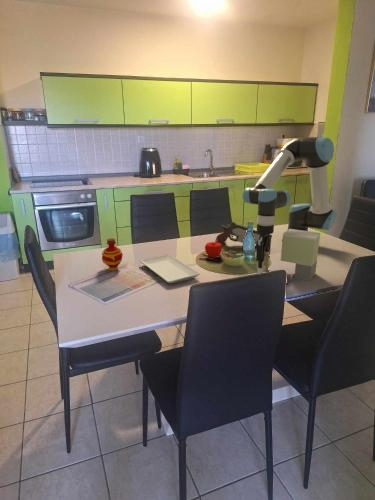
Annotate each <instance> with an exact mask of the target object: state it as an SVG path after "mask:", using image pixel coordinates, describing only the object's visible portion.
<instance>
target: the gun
mask: <svg viewBox="0 0 375 500" xmlns="http://www.w3.org/2000/svg"><path fill="white" fill-rule="evenodd" d="M220 228H221V229H223V232H220V233H219V234H217V235H216V238H215V241H214V242H217V243H220V244H221V245H222V246H226V243H227V240H228V239H229V240H230V241H232V242H236V243H237V242H239V243H240V244H241V243H242V244H244V243H243V239H244V236H245V234H246V230H247V228H248V227H246V226H243V225H241V224H237V223H236V222H235V221H232V222H231V223H230V224H229V223H228V224H227V226H226V225H223V224H222V225H221V226H220ZM252 230H253V234H254V237H255V244H256V246H255V247H254V248H257V241H259V237H260V234H259V233H258V232H257V230H255V229H252ZM234 237H236V238H234Z"/></svg>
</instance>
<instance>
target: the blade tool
mask: <svg viewBox="0 0 375 500" xmlns="http://www.w3.org/2000/svg"><path fill="white" fill-rule="evenodd" d="M269 256H270V255H269V252H265V253H264V272H269V271H272V270H270V269H269V262H270V261H269V260H270V259H269ZM257 269H258V261H256V270H257ZM286 274H287V277H288V281H289V280H290V279H291V278H292V277H291V276H292V274H289V273H286Z"/></svg>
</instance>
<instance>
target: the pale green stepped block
mask: <svg viewBox="0 0 375 500" xmlns="http://www.w3.org/2000/svg"><path fill="white" fill-rule="evenodd" d="M320 238H321V232H317V231H316V232H315V231H310V230H308V231H302V230H295V229H289V230H287V229H286V231H285V232H283V234H282V239H281V252H280V253H281V255H280V262H287V263H291V264H295V267H294V277H293V278H294V279H299V280H304V281H310V282H311V280H313V279H312V278H313V277H315V274H316V270H317V264H318V263H317V262H318V256H319V255H318V254H319V247H320Z"/></svg>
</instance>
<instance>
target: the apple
mask: <svg viewBox="0 0 375 500" xmlns="http://www.w3.org/2000/svg"><path fill="white" fill-rule="evenodd" d="M222 248H223V245H221V244H220V243H217V242H215V241H211V242H206V244H205V246H204V250H205V253H206V255H207V256H208V257H209V258H213V259H216V258H219V257H220V254H221V253H222ZM210 256H211V257H210ZM217 256H218V257H217Z"/></svg>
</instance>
